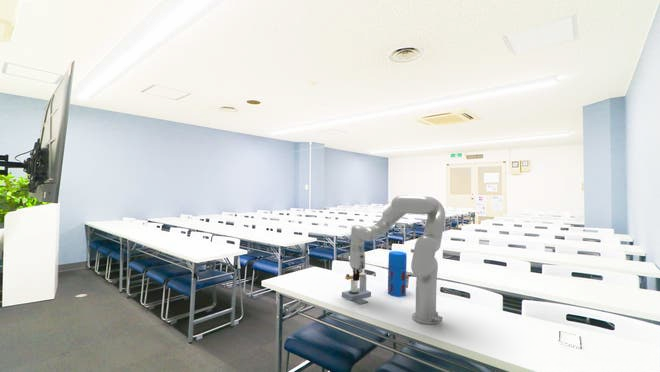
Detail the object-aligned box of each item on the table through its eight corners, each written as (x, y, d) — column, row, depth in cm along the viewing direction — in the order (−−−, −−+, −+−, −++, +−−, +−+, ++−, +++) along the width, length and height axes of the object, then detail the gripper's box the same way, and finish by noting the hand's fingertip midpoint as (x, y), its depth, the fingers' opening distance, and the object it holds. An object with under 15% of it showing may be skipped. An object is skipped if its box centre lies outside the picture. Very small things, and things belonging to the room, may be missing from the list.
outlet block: (370, 296, 173) (371, 277, 173) (351, 301, 164) (352, 281, 164) (360, 291, 180) (361, 274, 180) (341, 296, 171) (342, 277, 172)
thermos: (404, 291, 183) (405, 251, 184) (407, 297, 172) (408, 255, 173) (386, 290, 184) (387, 250, 185) (388, 296, 173) (389, 254, 174)
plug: (359, 297, 170) (360, 280, 171) (353, 299, 168) (353, 281, 168) (354, 294, 174) (354, 278, 175) (348, 296, 171) (348, 279, 172)
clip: (363, 274, 178) (363, 270, 178) (366, 276, 175) (367, 271, 175) (344, 278, 169) (344, 274, 169) (348, 280, 166) (348, 275, 166)
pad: (368, 302, 163) (368, 301, 163) (360, 304, 159) (360, 303, 159) (360, 299, 167) (360, 298, 168) (352, 301, 164) (352, 300, 164)
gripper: (370, 250, 160) (369, 283, 159) (356, 245, 173) (354, 276, 173) (358, 250, 156) (357, 285, 156) (345, 245, 170) (343, 277, 170)
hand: (356, 280), depth 164 cm, fingers closed
